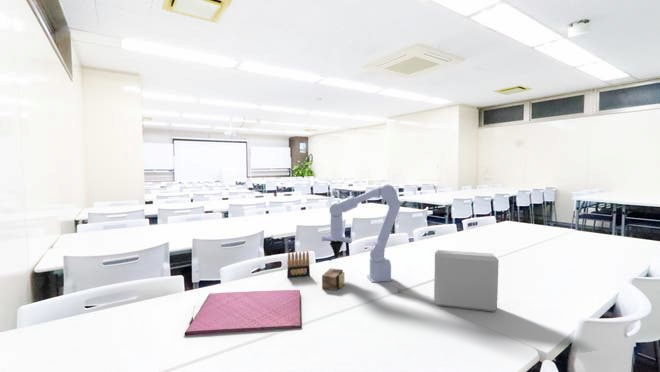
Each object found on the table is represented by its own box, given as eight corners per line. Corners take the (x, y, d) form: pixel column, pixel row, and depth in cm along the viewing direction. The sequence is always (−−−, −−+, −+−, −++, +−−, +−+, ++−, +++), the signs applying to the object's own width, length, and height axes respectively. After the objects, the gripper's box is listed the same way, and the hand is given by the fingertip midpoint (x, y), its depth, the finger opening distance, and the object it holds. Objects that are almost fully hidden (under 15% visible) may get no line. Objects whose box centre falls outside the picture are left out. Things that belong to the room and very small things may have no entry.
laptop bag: (300, 285, 124) (301, 319, 97) (300, 295, 125) (301, 331, 98) (198, 289, 120) (171, 326, 93) (199, 299, 120) (171, 339, 93)
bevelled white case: (492, 304, 114) (493, 251, 113) (498, 313, 107) (499, 258, 106) (433, 297, 120) (434, 248, 119) (435, 306, 112) (435, 253, 111)
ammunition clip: (287, 278, 143) (287, 253, 142) (287, 276, 144) (286, 251, 144) (309, 276, 145) (309, 251, 144) (309, 274, 147) (309, 250, 146)
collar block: (343, 282, 137) (343, 269, 136) (336, 290, 127) (336, 277, 127) (330, 280, 139) (330, 268, 139) (322, 288, 130) (322, 275, 129)
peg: (344, 283, 134) (344, 272, 134) (340, 287, 129) (340, 276, 129) (328, 281, 137) (328, 270, 136) (324, 285, 132) (324, 274, 132)
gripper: (319, 229, 142) (319, 257, 143) (348, 231, 137) (348, 260, 138) (324, 226, 149) (324, 253, 150) (353, 228, 144) (353, 256, 145)
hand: (336, 256), depth 144 cm, fingers closed
